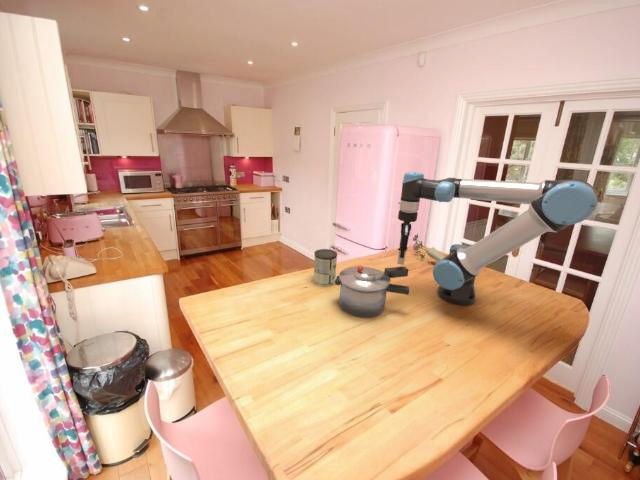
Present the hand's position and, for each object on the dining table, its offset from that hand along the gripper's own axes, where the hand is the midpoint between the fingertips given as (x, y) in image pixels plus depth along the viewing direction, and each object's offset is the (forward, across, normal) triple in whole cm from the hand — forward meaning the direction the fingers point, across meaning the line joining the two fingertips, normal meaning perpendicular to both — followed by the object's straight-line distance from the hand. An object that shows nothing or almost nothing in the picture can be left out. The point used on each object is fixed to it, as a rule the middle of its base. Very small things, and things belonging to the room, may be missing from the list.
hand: (400, 263), depth 130 cm
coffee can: (+13, +2, -33) cm, 35 cm away
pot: (+13, +18, -11) cm, 25 cm away
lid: (+2, +16, -10) cm, 19 cm away
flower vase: (+13, -38, +19) cm, 45 cm away
